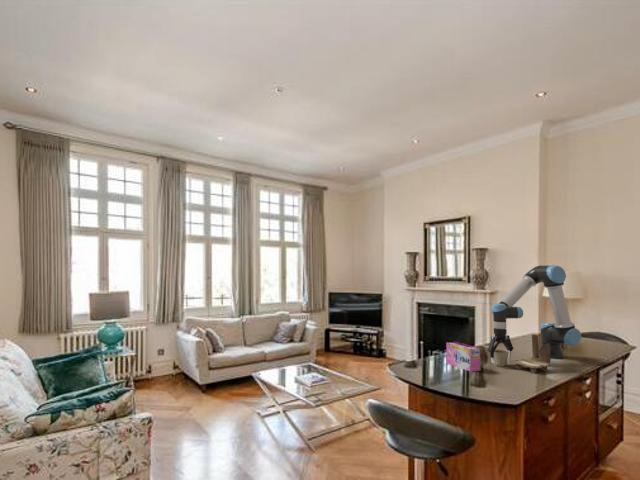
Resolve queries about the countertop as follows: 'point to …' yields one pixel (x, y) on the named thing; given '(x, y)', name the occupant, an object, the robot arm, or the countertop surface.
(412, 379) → the countertop surface
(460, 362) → the gum box
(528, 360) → the plant stand
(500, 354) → the flower pot
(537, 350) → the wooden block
